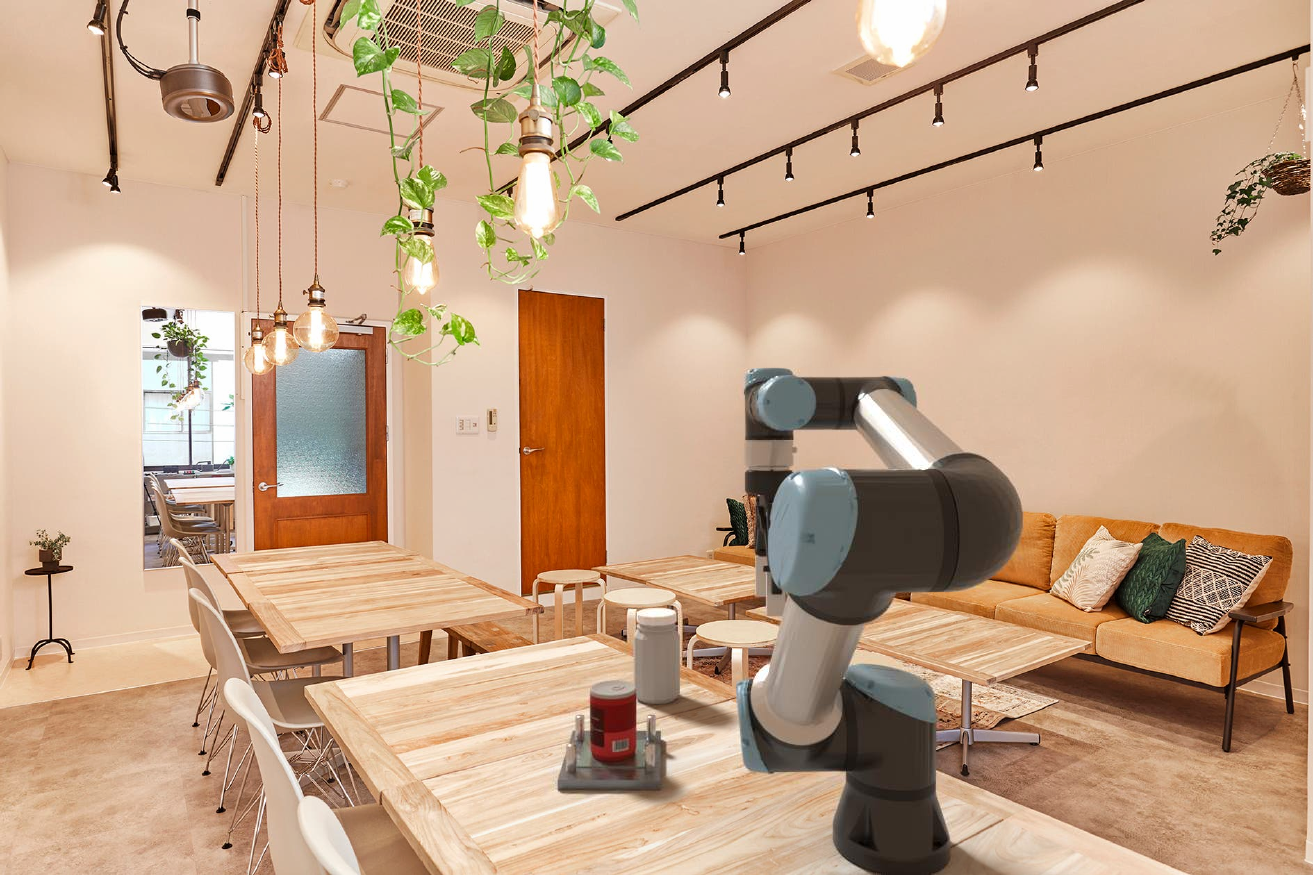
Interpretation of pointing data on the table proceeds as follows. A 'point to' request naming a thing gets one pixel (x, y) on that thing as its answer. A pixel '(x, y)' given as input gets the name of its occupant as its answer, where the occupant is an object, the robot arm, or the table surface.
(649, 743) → the plate
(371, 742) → the table surface
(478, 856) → the table surface
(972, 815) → the table surface
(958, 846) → the table surface
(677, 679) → the jar
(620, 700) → the canned food
